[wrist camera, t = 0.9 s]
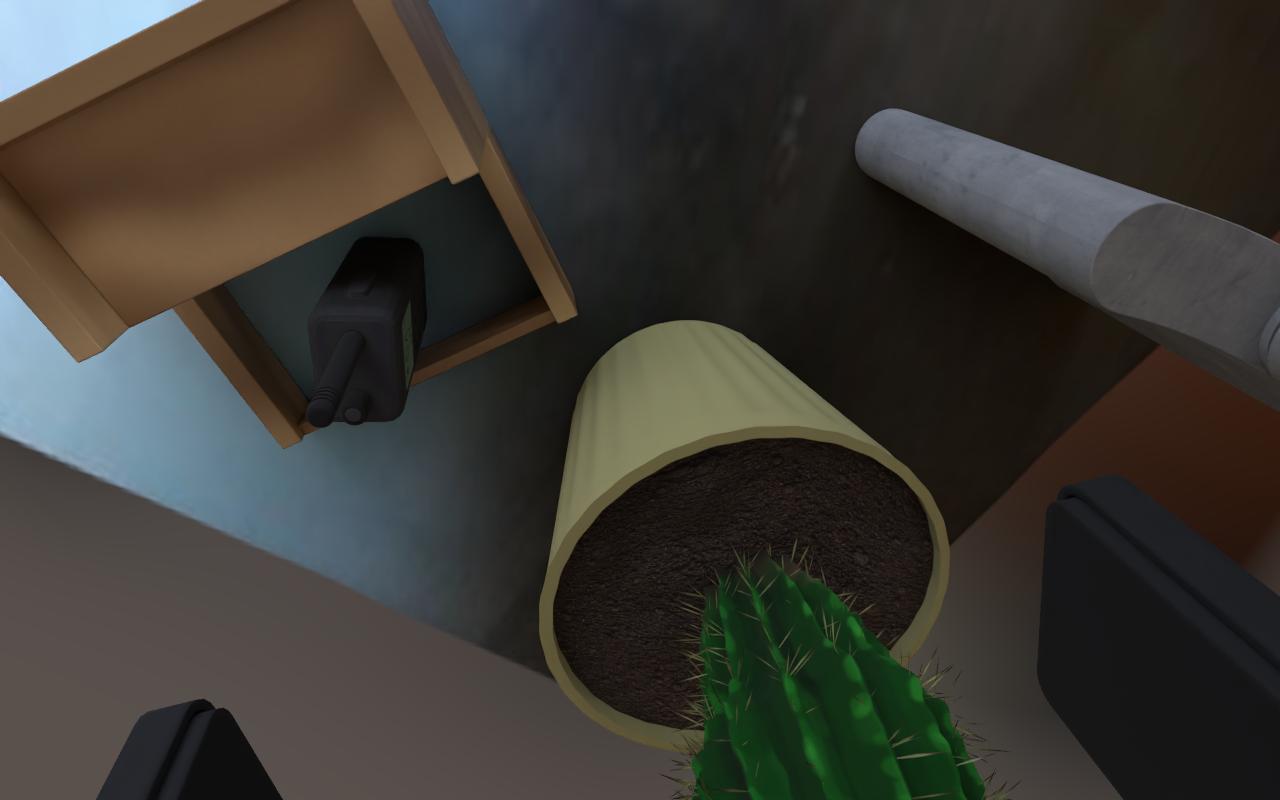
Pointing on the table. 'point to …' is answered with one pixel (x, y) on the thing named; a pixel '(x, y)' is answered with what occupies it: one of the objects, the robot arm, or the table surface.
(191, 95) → the step shelf
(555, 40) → the table surface
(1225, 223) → the hip flask
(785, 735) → the potted cactus
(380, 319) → the walkie-talkie
